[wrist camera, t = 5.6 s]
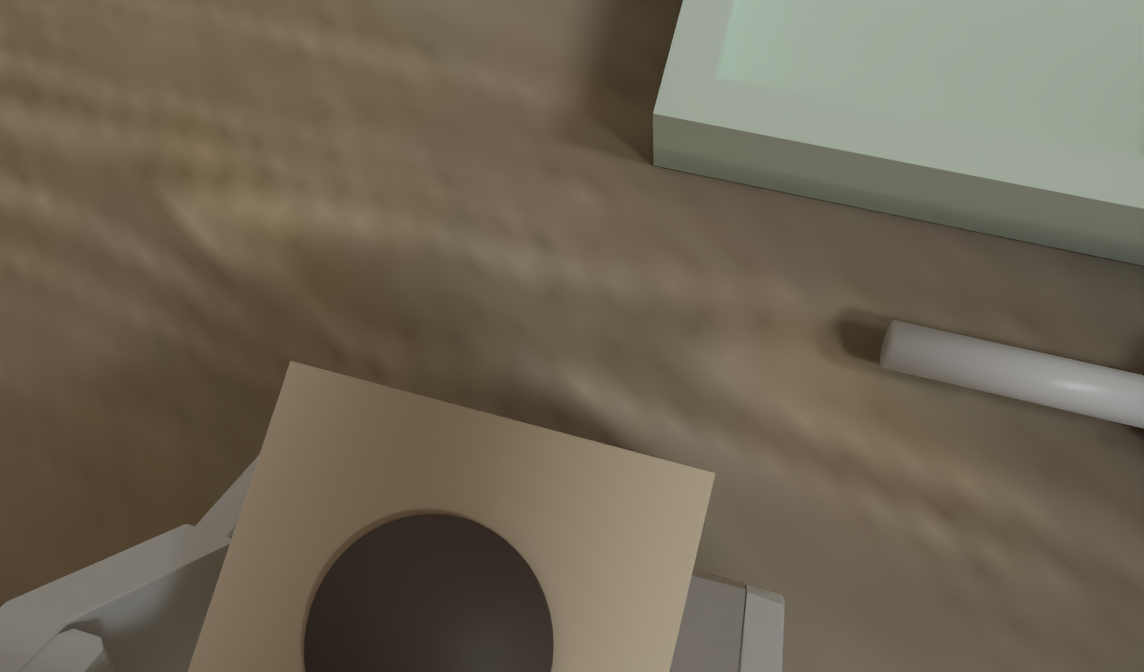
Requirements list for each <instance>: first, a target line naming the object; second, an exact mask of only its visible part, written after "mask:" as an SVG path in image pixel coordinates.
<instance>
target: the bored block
mask: <svg viewBox="0 0 1144 672" xmlns="http://www.w3.org/2000/svg"><path fill="white" fill-rule="evenodd" d="M714 477H715V473H712V472H709V471H705V470H701V469H697V468H693V467H690V466H686V465H682V464H678V463H675V462H671V461H667V460H663V459H660V458H656V457H652V456H648V455H644V454H641V453H637V452H633V451H629V450H626V449H622V448H618V447H614V446H611V445H607V444H603V443H599V442H595V441H592V440H588V439H584V438H580V437H577V436H573V435H569V434H565V433H561V432H558V431H554V430H550V429H546V428H543V427H539V426H535V425H531V424H528V423H524V422H520V421H516V420H512V419H509V418H505V417H501V416H497V415H494V414H490V413H486V412H482V411H479V410H475V409H471V408H467V407H463V406H460V405H456V404H452V403H448V402H445V401H441V400H437V399H433V398H430V397H426V396H422V395H418V394H414V393H411V392H407V391H403V390H399V389H396V388H392V387H388V386H384V385H381V384H377V383H373V382H369V381H365V380H362V379H358V378H354V377H350V376H347V375H343V374H339V373H335V372H331V371H328V370H324V369H320V368H316V367H313V366H309V365H305V364H301V363H298V362H294V361H290V364H289V367H288V370H287V373H286V376H285V379H284V382H283V385H282V388H281V391H280V394H279V397H278V400H277V403H276V406H275V409H274V412H273V415H272V418H271V421H270V424H269V427H268V430H267V433H266V436H265V439H264V442H263V445H262V448H261V451H260V454H259V457H258V460H257V463H256V466H255V469H254V472H253V475H252V478H251V481H250V484H249V487H248V490H247V494H246V497H245V500H244V503H243V506H242V509H241V512H240V515H239V518H238V521H237V524H236V527H235V530H234V533H233V536H232V539H231V542H230V545H229V548H228V551H227V554H226V557H225V560H224V563H223V566H222V569H221V572H220V575H219V578H218V581H217V584H216V587H215V590H214V593H213V596H212V599H211V602H210V605H209V608H208V611H207V614H206V617H205V620H204V623H203V626H202V629H201V632H200V635H199V638H198V641H197V644H196V647H195V651H194V654H193V657H192V660H191V663H190V666H189V669H188V672H669V671H670V667H671V662H672V658H673V654H674V650H675V645H676V641H677V637H678V632H679V628H680V624H681V619H682V615H683V611H684V606H685V602H686V598H687V594H688V589H689V585H690V581H691V576H692V572H693V568H694V563H695V559H696V555H697V550H698V546H699V542H700V538H701V533H702V529H703V525H704V520H705V516H706V512H707V507H708V503H709V499H710V495H711V490H712V486H713V482H714Z"/></svg>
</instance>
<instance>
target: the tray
mask: <svg viewBox="0 0 1144 672" xmlns="http://www.w3.org/2000/svg"><path fill="white" fill-rule="evenodd" d="M653 166H658V167H663V168H668V169H673V170H678V171H683V172H688V173H693V174H697V175H702V176H707V177H712V178H717V179H722V180H727V181H732V182H736V183H741V184H746V185H751V186H756V187H761V188H766V189H771V190H775V191H780V192H785V193H790V194H795V195H800V196H805V197H810V198H815V199H819V200H824V201H829V202H834V203H839V204H844V205H849V206H854V207H858V208H863V209H868V210H873V211H878V212H883V213H888V214H893V215H898V216H902V217H907V218H912V219H917V220H922V221H927V222H932V223H937V224H941V225H946V226H951V227H956V228H961V229H966V230H971V231H976V232H981V233H985V234H990V235H995V236H1000V237H1005V238H1010V239H1015V240H1020V241H1024V242H1029V243H1034V244H1039V245H1044V246H1049V247H1054V248H1059V249H1064V250H1068V251H1073V252H1078V253H1083V254H1088V255H1093V256H1098V257H1103V258H1107V259H1112V260H1117V261H1122V262H1127V263H1132V264H1137V265H1142V266H1144V0H683V2H682V6H681V10H680V14H679V18H678V21H677V25H676V29H675V33H674V36H673V40H672V44H671V48H670V51H669V55H668V59H667V63H666V66H665V70H664V74H663V78H662V81H661V85H660V89H659V93H658V96H657V100H656V104H655V108H654V111H653Z"/></svg>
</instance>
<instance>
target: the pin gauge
mask: <svg viewBox="0 0 1144 672" xmlns="http://www.w3.org/2000/svg"><path fill="white" fill-rule="evenodd" d="M880 366H881V368H884V369H888V370H893V371H897V372H901V373H906V374H910V375H914V376H919V377H923V378H927V379H932V380H936V381H940V382H945V383H949V384H953V385H958V386H962V387H966V388H970V389H975V390H979V391H983V392H988V393H992V394H996V395H1001V396H1005V397H1009V398H1014V399H1018V400H1022V401H1027V402H1031V403H1035V404H1040V405H1044V406H1048V407H1053V408H1057V409H1061V410H1066V411H1070V412H1074V413H1079V414H1083V415H1087V416H1091V417H1096V418H1100V419H1104V420H1109V421H1113V422H1117V423H1122V424H1126V425H1130V426H1135V427H1139V428H1143V429H1144V375H1140V374H1136V373H1131V372H1127V371H1122V370H1118V369H1113V368H1109V367H1104V366H1100V365H1095V364H1091V363H1086V362H1082V361H1077V360H1073V359H1068V358H1064V357H1059V356H1055V355H1050V354H1046V353H1041V352H1036V351H1032V350H1027V349H1023V348H1018V347H1014V346H1009V345H1005V344H1000V343H996V342H991V341H987V340H982V339H978V338H973V337H969V336H964V335H960V334H955V333H951V332H946V331H942V330H937V329H933V328H928V327H924V326H919V325H915V324H910V323H906V322H901V321H896V320H893V321H892V322H891V323H890V325H889V327H888V329H887V331H886V334H885V336H884V340H883V343H882V348H881V353H880Z"/></svg>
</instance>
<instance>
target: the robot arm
mask: <svg viewBox="0 0 1144 672" xmlns="http://www.w3.org/2000/svg"><path fill="white" fill-rule="evenodd" d="M258 457H259V455H258V456H257V457H256V458H255V460H254V461H253V462H252V463H251V464H250V465H249V466H248V467H247V469H246V470H245V471H244V472H243V473H242V474H241V475H240V476H239V477H238V479H237V480H236V481H235V482H234V483H233V484H232V485H231V486H230V487H229V489H228V490H227V491H226V492H225V493H224V494H223V495H222V496H221V498H220V499H219V500H218V501H217V502H216V503H215V504H214V505H213V506H212V508H211V509H210V510H209V511H208V512H207V513H206V514H205V515H204V516H203V518H202V519H201V520H200V521H199V522H198V523H197V524H196V525H195V526H193V525H189V524H184V525H182V526H179V527H177V528H175V529H172V530H170V531H168V532H165V533H163V534H161V535H159V536H156V537H154V538H152V539H149V540H147V541H145V542H142V543H140V544H138V545H136V546H133V547H131V548H129V549H126V550H124V551H122V552H119V553H117V554H115V555H113V556H110V557H108V558H106V559H103V560H101V561H99V562H96V563H94V564H92V565H90V566H87V567H85V568H83V569H80V570H78V571H76V572H73V573H71V574H69V575H67V576H64V577H62V578H60V579H57V580H55V581H53V582H50V583H48V584H46V585H44V586H41V587H39V588H37V589H34V590H32V591H30V592H27V593H25V594H23V595H21V596H18V597H16V598H14V599H11V600H9V601H7V602H5V603H4V604H3V605H2V606H1V607H0V672H186V671H188V669H189V666H190V663H191V660H192V657H193V654H194V651H195V647H196V644H197V641H198V638H199V635H200V632H201V629H202V626H203V623H204V620H205V617H206V614H207V611H208V608H209V605H210V602H211V599H212V596H213V593H214V590H215V587H216V584H217V581H218V578H219V575H220V572H221V569H222V566H223V563H224V560H225V557H226V554H227V551H228V548H229V545H230V542H231V539H232V536H233V533H234V530H235V527H236V524H237V521H238V518H239V515H240V512H241V509H242V506H243V503H244V500H245V497H246V494H247V490H248V487H249V484H250V481H251V478H252V475H253V472H254V469H255V466H256V463H257V460H258ZM784 610H785V601H784V599H783V596H782V595H781V594H778V593H774V592H771V591H767V590H764V589H760V588H757V587H753V586H750V585H744V583H742V582H738V581H734V580H731V579H727V578H723V577H720V576H716V575H712V574H709V573H705V572H701V571H697V570H694V569H693V572H692V576H691V581H690V585H689V589H688V594H687V598H686V602H685V606H684V611H683V615H682V619H681V624H680V628H679V632H678V637H677V641H676V645H675V650H674V654H673V658H672V662H671V667H670V671H669V672H782V662H783V636H784Z"/></svg>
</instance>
